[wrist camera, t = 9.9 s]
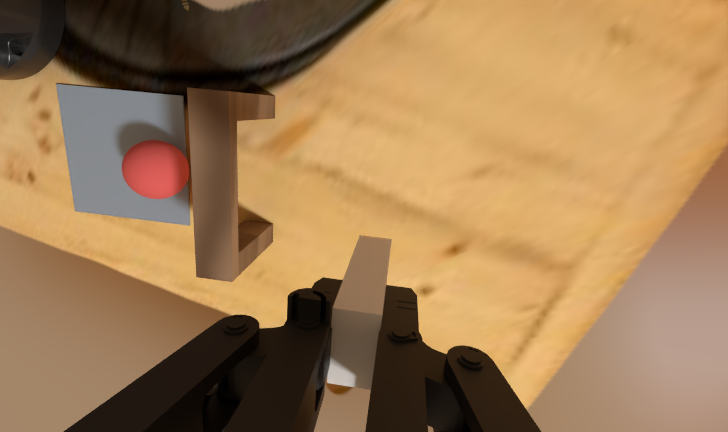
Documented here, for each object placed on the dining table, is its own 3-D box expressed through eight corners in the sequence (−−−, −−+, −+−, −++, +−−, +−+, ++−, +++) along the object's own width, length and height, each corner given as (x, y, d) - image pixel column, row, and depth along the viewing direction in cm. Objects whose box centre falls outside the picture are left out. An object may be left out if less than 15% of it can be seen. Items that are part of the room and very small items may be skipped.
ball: (200, 200, 35) (179, 188, 39) (196, 142, 33) (174, 136, 37) (136, 209, 31) (118, 195, 35) (127, 144, 30) (110, 137, 33)
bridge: (245, 238, 38) (196, 276, 29) (244, 93, 34) (187, 87, 25) (272, 242, 38) (232, 281, 29) (275, 96, 34) (228, 91, 25)
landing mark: (76, 210, 39) (75, 211, 39) (58, 84, 36) (56, 83, 36) (190, 224, 38) (189, 225, 38) (183, 95, 35) (182, 95, 34)
